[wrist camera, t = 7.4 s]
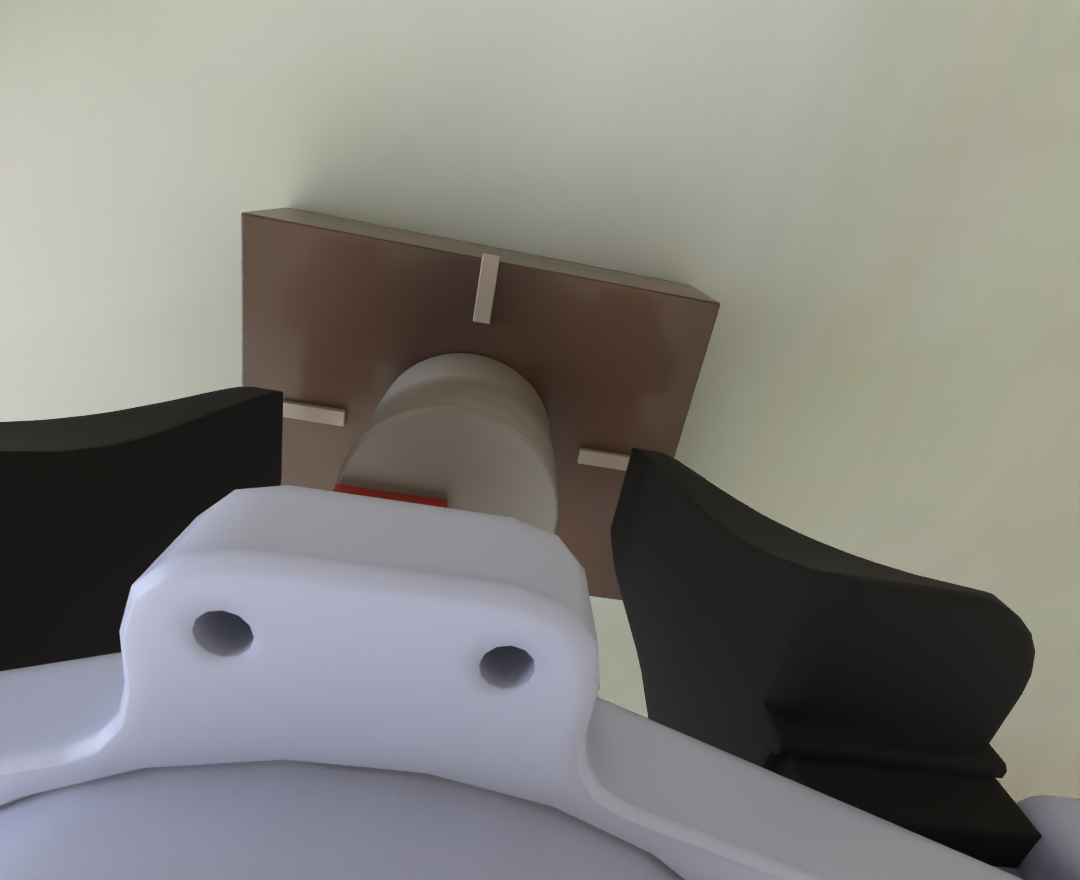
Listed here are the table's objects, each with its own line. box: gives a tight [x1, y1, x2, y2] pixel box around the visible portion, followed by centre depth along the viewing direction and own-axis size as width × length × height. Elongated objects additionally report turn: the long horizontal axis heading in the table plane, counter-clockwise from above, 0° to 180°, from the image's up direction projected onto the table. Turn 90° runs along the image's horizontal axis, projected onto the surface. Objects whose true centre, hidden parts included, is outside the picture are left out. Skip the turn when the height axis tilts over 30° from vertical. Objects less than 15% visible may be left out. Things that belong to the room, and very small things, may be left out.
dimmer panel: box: [241, 208, 720, 600], centre depth 15 cm, size 10×8×3 cm
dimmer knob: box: [333, 353, 560, 535], centre depth 12 cm, size 4×4×4 cm
